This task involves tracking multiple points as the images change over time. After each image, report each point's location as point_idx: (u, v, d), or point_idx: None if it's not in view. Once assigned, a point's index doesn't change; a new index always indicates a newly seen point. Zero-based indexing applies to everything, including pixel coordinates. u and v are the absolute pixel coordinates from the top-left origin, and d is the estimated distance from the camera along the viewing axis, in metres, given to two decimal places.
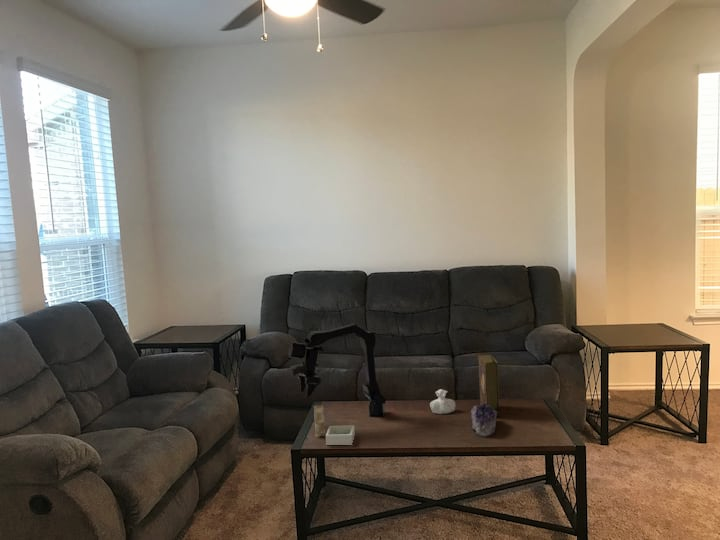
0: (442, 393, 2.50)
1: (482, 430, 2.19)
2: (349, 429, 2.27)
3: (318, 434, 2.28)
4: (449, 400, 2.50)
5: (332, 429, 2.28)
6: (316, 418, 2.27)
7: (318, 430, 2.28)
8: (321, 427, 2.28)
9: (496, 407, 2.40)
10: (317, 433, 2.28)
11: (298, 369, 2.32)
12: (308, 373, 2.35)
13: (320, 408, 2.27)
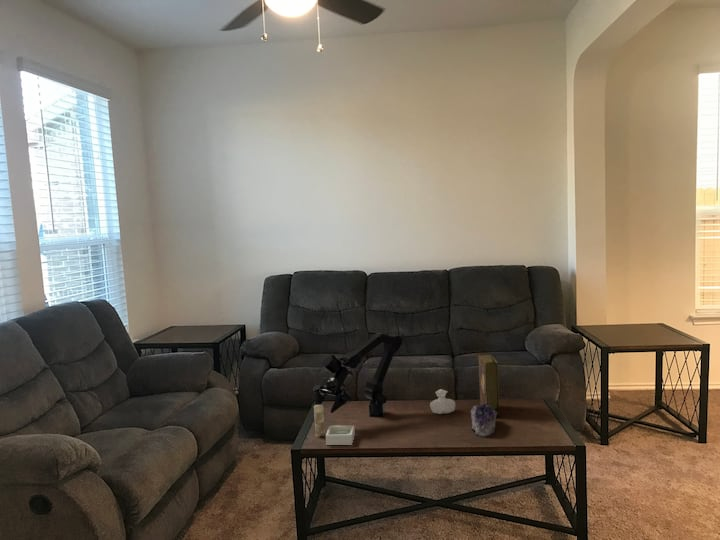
0: (442, 393, 2.50)
1: (481, 431, 2.19)
2: (349, 429, 2.27)
3: (318, 434, 2.28)
4: (449, 400, 2.50)
5: (332, 429, 2.28)
6: (316, 418, 2.27)
7: (318, 430, 2.28)
8: (321, 427, 2.28)
9: (496, 407, 2.40)
10: (317, 433, 2.28)
11: (334, 381, 2.30)
12: (336, 390, 2.34)
13: (320, 408, 2.27)
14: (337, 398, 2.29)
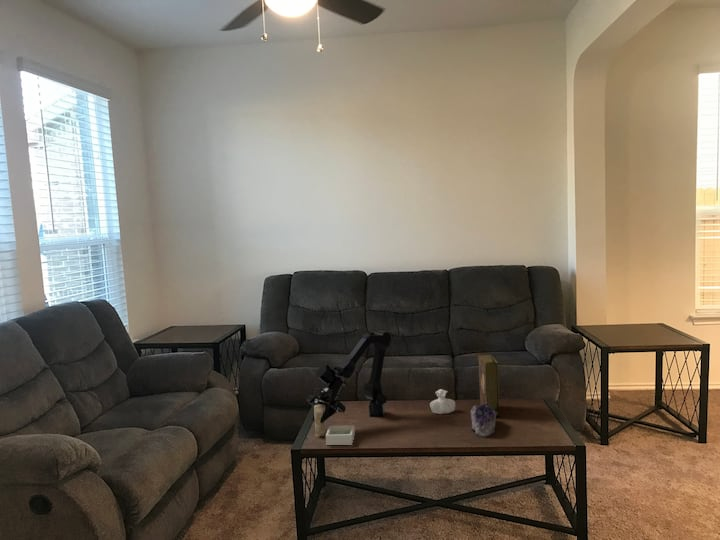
0: (442, 393, 2.50)
1: (481, 431, 2.19)
2: (349, 429, 2.27)
3: (318, 434, 2.28)
4: (449, 400, 2.50)
5: (332, 429, 2.28)
6: (316, 418, 2.27)
7: (318, 430, 2.28)
8: (321, 427, 2.28)
9: (496, 407, 2.40)
10: (317, 433, 2.28)
11: (328, 391, 2.27)
12: (330, 400, 2.31)
13: (320, 408, 2.27)
14: (327, 408, 2.27)
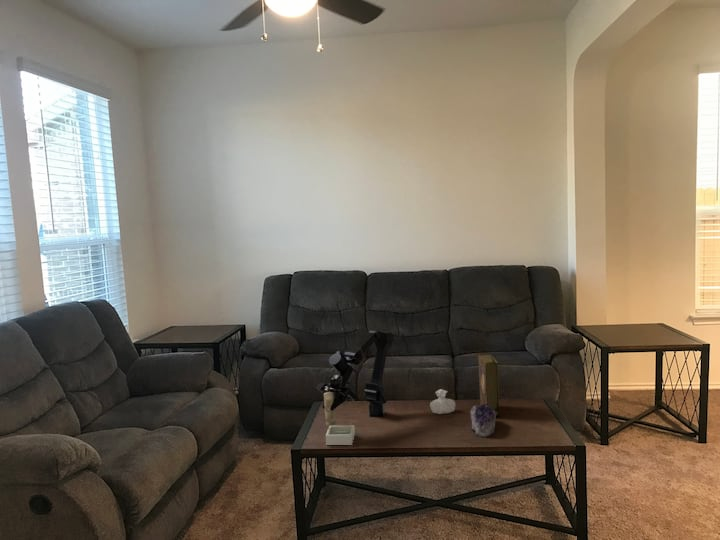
0: (442, 393, 2.50)
1: (481, 431, 2.19)
2: (349, 429, 2.27)
3: (328, 422, 2.24)
4: (449, 400, 2.50)
5: (332, 429, 2.28)
6: (326, 406, 2.23)
7: (328, 417, 2.23)
8: (332, 415, 2.23)
9: (496, 407, 2.40)
10: (327, 421, 2.24)
11: (338, 378, 2.23)
12: (341, 388, 2.26)
13: (330, 395, 2.23)
14: (337, 395, 2.23)
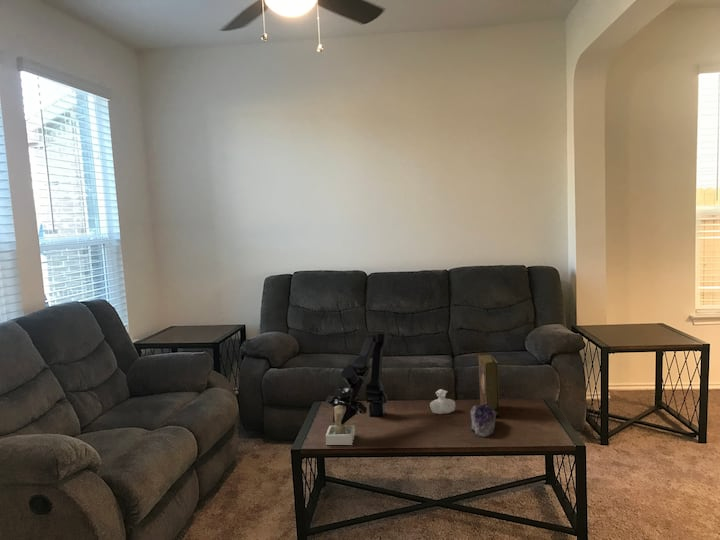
0: (442, 393, 2.50)
1: (481, 431, 2.19)
2: (349, 429, 2.27)
3: None
4: (449, 400, 2.50)
5: (332, 429, 2.28)
6: (337, 419, 2.21)
7: (338, 431, 2.21)
8: (342, 428, 2.21)
9: (496, 407, 2.40)
10: None
11: (349, 392, 2.20)
12: (351, 401, 2.24)
13: (341, 409, 2.20)
14: (348, 409, 2.20)
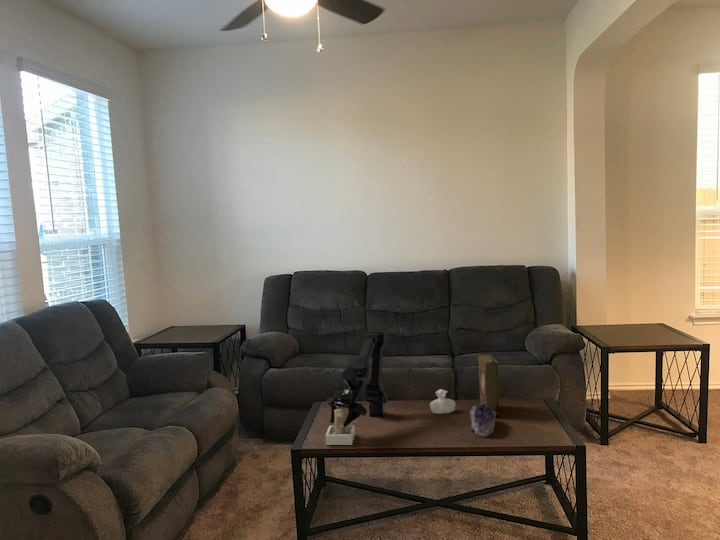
0: (442, 393, 2.50)
1: (481, 431, 2.19)
2: (349, 429, 2.27)
3: None
4: (449, 400, 2.50)
5: (332, 429, 2.28)
6: (337, 423, 2.21)
7: None
8: (342, 432, 2.21)
9: (496, 407, 2.40)
10: None
11: (349, 394, 2.20)
12: (351, 403, 2.24)
13: (341, 412, 2.20)
14: (350, 411, 2.20)
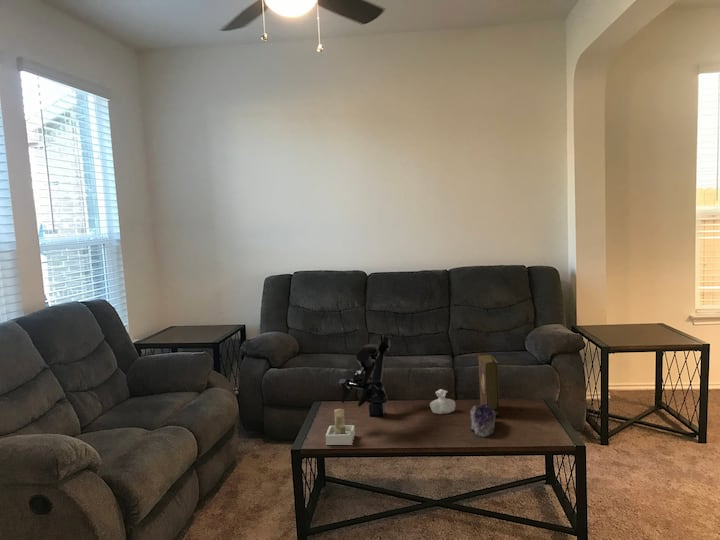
0: (442, 393, 2.50)
1: (480, 431, 2.19)
2: (349, 429, 2.27)
3: None
4: (449, 400, 2.50)
5: (332, 429, 2.28)
6: (337, 423, 2.21)
7: None
8: (342, 432, 2.21)
9: (496, 407, 2.40)
10: None
11: (362, 374, 2.27)
12: (363, 383, 2.30)
13: (341, 412, 2.20)
14: (365, 391, 2.25)
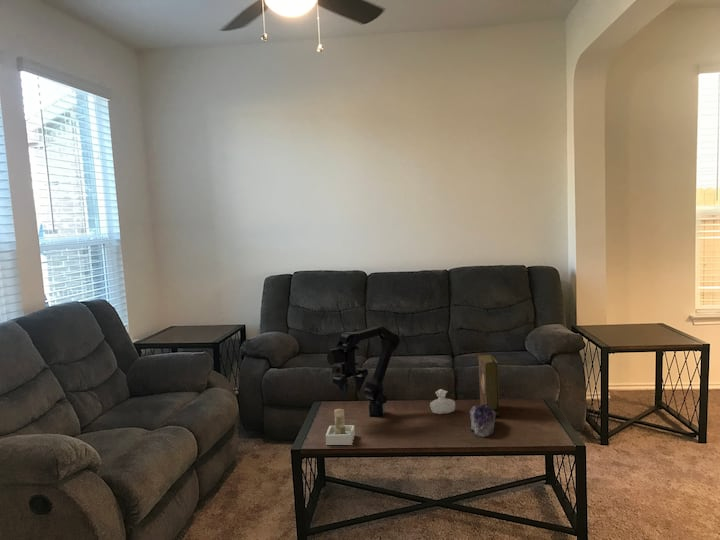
0: (442, 393, 2.50)
1: (480, 431, 2.19)
2: (349, 429, 2.27)
3: None
4: (449, 400, 2.50)
5: (332, 429, 2.28)
6: (337, 423, 2.21)
7: None
8: (342, 432, 2.21)
9: (496, 407, 2.40)
10: None
11: (333, 369, 2.42)
12: (344, 374, 2.39)
13: (341, 412, 2.20)
14: None
